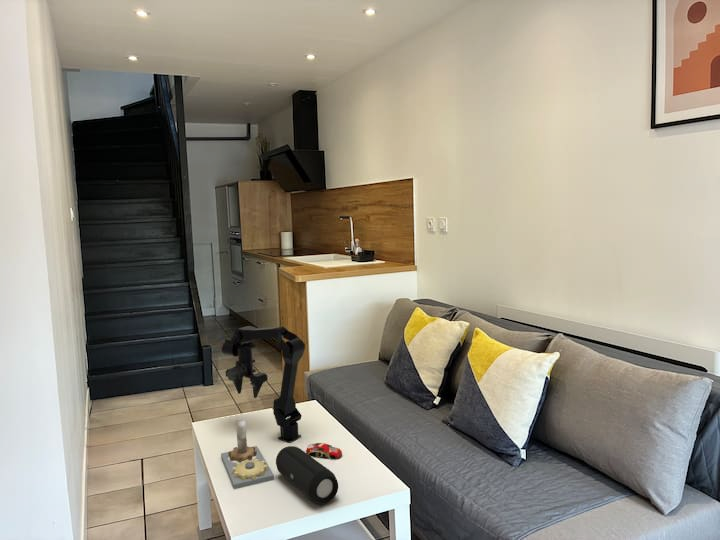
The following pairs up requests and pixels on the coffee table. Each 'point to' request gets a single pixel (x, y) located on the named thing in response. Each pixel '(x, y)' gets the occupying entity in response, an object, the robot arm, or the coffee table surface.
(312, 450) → the race car
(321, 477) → the portable speaker
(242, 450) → the walnut gear
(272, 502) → the coffee table surface
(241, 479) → the gear board
